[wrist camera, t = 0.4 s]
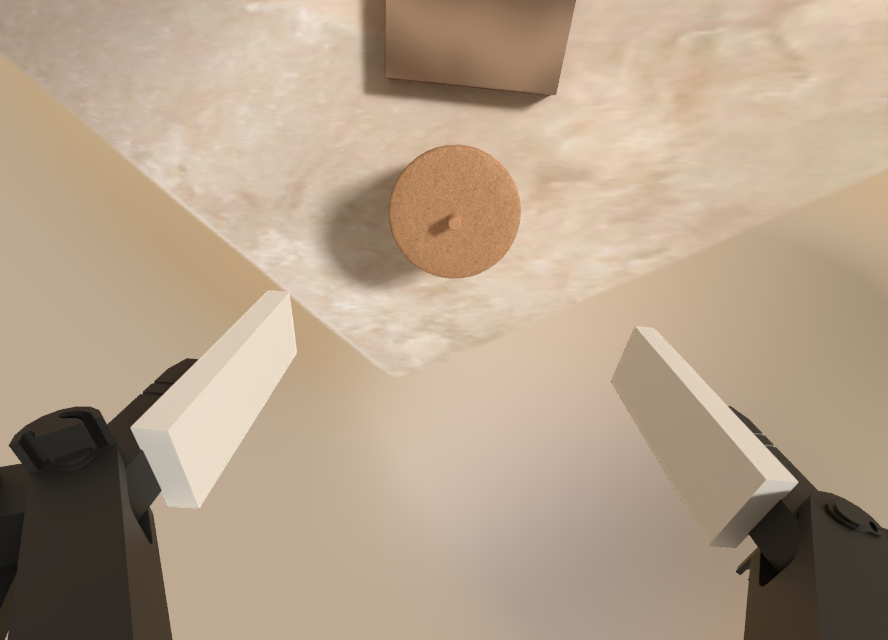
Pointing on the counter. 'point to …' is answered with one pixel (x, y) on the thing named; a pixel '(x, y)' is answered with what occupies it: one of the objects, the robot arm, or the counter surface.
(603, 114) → the counter surface
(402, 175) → the lidded jar
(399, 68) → the walnut board
